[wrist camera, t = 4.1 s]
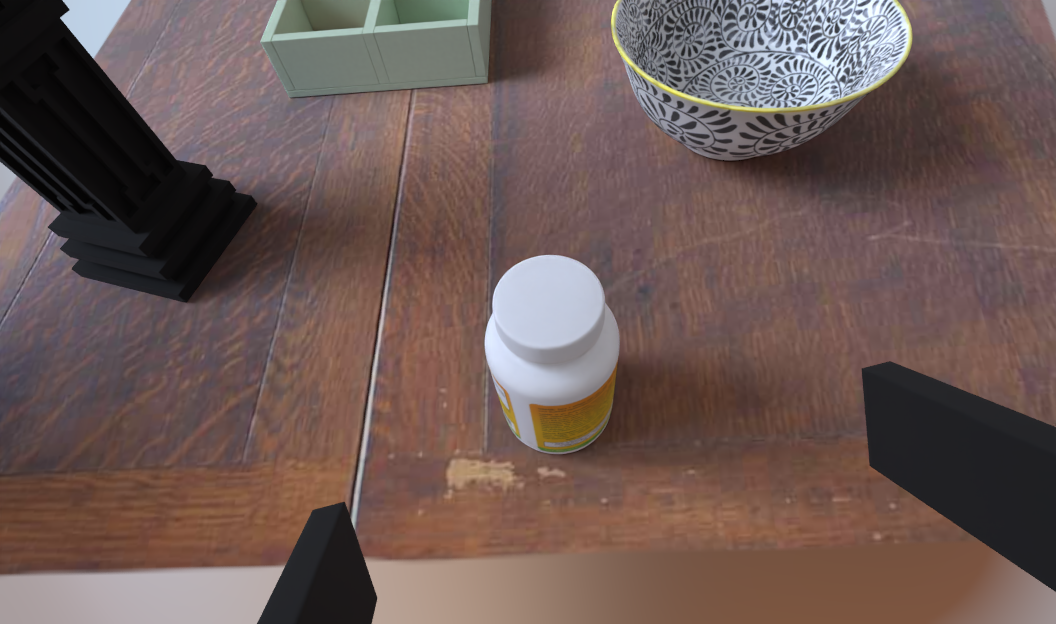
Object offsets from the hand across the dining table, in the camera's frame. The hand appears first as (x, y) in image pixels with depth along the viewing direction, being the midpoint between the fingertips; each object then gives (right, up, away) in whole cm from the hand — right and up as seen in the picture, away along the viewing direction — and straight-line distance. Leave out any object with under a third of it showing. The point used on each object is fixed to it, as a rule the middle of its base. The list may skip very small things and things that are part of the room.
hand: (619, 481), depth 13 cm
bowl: (+11, +17, +24) cm, 31 cm away
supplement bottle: (-1, 0, +14) cm, 14 cm away
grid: (-13, +28, +32) cm, 44 cm away
